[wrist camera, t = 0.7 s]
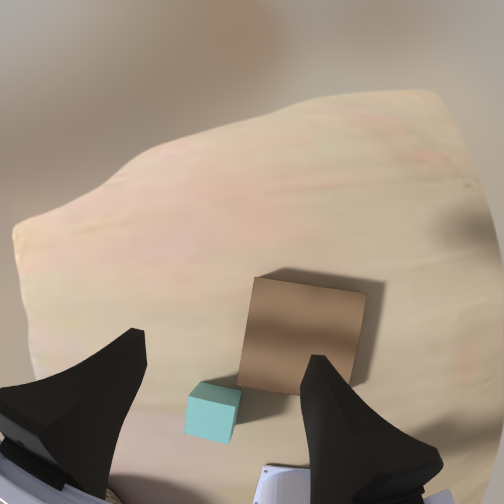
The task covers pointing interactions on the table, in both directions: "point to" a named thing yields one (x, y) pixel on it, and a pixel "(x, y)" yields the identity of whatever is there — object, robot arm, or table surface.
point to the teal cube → (212, 412)
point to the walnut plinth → (297, 333)
